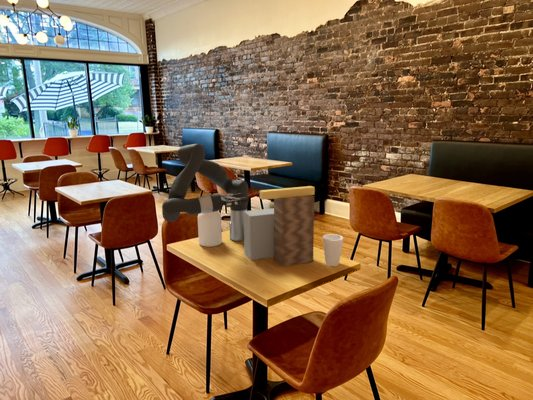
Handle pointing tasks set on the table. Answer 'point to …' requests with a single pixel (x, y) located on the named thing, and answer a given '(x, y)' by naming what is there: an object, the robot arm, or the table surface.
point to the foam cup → (332, 249)
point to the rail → (287, 192)
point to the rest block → (259, 233)
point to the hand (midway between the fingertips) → (245, 197)
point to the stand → (293, 230)
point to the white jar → (210, 229)
